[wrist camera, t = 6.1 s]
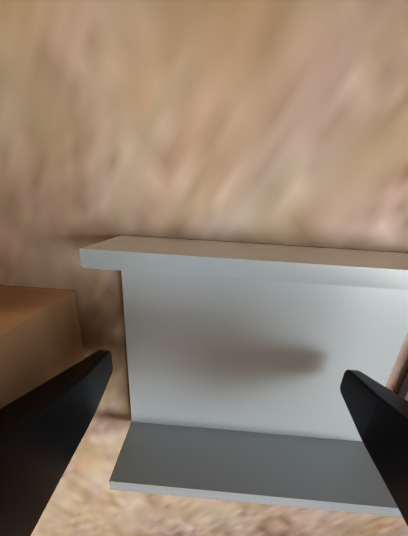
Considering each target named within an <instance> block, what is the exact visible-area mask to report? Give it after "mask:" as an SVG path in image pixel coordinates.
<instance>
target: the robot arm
mask: <svg viewBox="0 0 408 536" xmlns="http://www.w3.org/2000/svg"><path fill="white" fill-rule="evenodd" d="M112 369H113V366H112V356H111V352H110V351H108V350H99V351H97V352H95V353H93V354H92V355H90V356H88V357H87V358H85V359H83V360H82V361H80V362H78V363H77V364H75V365H73V366H71V367H70V368H68V369H66V370H65V371H63V372H61V373H60V374H58V375H56V376H55V377H53V378H51V379H50V380H48V381H46V382H45V383H43V384H41V385H40V386H38V387H36V388H34V389H33V390H31V391H29V392H28V393H26V394H24V395H23V396H21V397H19V398H18V399H16V400H14V401H13V402H11V403H9V404H8V405H6V406H4V407H2V408H1V409H0V536H30V535H31V534H32V532H33V530H34V528H35V526H36V524H37V522H38V520H39V519H40V517H41V515H42V513H43V511H44V509H45V507H46V505H47V503H48V502H49V500H50V498H51V496H52V494H53V492H54V490H55V488H56V487H57V485H58V483H59V481H60V479H61V477H62V475H63V473H64V471H65V470H66V468H67V466H68V464H69V462H70V460H71V458H72V456H73V454H74V453H75V451H76V449H77V447H78V445H79V443H80V441H81V439H82V438H83V436H84V434H85V432H86V430H87V428H88V426H89V424H90V422H91V420H92V418H93V416H94V414H95V412H96V410H97V407H98V405H99V402H100V400H101V398H102V395H103V393H104V391H105V388H106V386H107V383H108V381H109V379H110V376H111V374H112ZM340 391H341V394H342V397H343V399H344V401H345V404H346V406H347V408H348V410H349V413H350V415H351V417H352V419H353V422H354V424H355V426H356V428H357V431H358V433H359V435H360V437H361V439H362V441H363V443H364V445H365V447H366V449H367V451H368V453H369V455H370V457H371V458H372V460H373V462H374V464H375V466H376V468H377V470H378V471H379V473H380V475H381V477H382V479H383V481H384V483H385V485H386V486H387V488H388V490H389V492H390V494H391V496H392V498H393V499H394V501H395V503H396V505H397V507H398V509H399V511H400V512H401V514H402V516H403V518H404V520H405V522H406V524H407V525H408V401H407V400H405V399H404V398H402V397H401V396H399V395H397V394H396V393H394V392H393V391H391V390H389V389H388V388H386V387H385V386H383V385H381V384H380V383H378V382H377V381H375V380H373V379H372V378H370V377H369V376H367V375H365V374H364V373H362V372H361V371H358V370H350V369H348V370H346V371H345V372H344V375H343V378H342V381H341V384H340Z"/></svg>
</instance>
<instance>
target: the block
mask: <svg viewBox="0 0 408 536" xmlns="http://www.w3.org/2000/svg"><path fill="white" fill-rule="evenodd" d="M83 359H85V356H84V349H83V342H82V336H81V329H80V322H79V315H78V308H77V301H76V294H75V290H61V289H47V288H33V287H19V286H5V285H0V409H1V408H2V407H4V406H6V405H8V404H9V403H11V402H13V401H14V400H16V399H18V398H19V397H21V396H23V395H24V394H26V393H28V392H29V391H31V390H33V389H34V388H36V387H38V386H40V385H41V384H43V383H45V382H46V381H48V380H50V379H51V378H53V377H55V376H56V375H58V374H60V373H61V372H63V371H65V370H66V369H68V368H70V367H71V366H73V365H75V364H77V363H78V362H80V361H82V360H83Z"/></svg>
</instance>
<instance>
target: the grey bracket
mask: <svg viewBox="0 0 408 536" xmlns="http://www.w3.org/2000/svg"><path fill="white" fill-rule="evenodd" d="M79 255H80V262H81V268H89V269H104V270H119V271H121V275H122V289H123V304H124V318H125V333H126V347H127V361H128V376H129V390H130V404H131V419H132V422H131V425H130V428H129V430H128V433H127V435H126V438H125V441H124V443H123V446H122V449H121V451H120V454H119V457H118V459H117V462H116V465H115V467H114V470H113V473H112V475H111V478H110V480H109V483H110V489H111V490H121V491H132V492H143V493H153V494H164V495H174V496H185V497H195V498H206V499H216V500H227V501H237V502H248V503H258V504H269V505H280V506H290V507H301V508H311V509H322V510H332V511H343V512H353V513H364V514H374V515H385V516H396V517H400V516H401V515H402V514H401V512H400V511H399V509H398V507H397V505H396V503H395V501H394V499H393V498H392V496H391V494H390V492H389V490H388V488H387V486H386V485H385V483H384V481H383V479H382V477H381V475H380V473H379V471H378V470H377V468H376V466H375V464H374V462H373V460H372V458H371V457H370V455H369V453H368V451H367V449H366V447H365V445H364V444H363V442H362V439H361V437H360V435H359V433H358V431H357V428H356V426H355V424H354V422H353V419H352V417H351V415H350V413H349V410H348V408H347V406H346V404H345V401H344V399H343V397H342V394H341V391H340V384H341V381H342V378H343V375H344V372H345V371H346V370H348V369H350V370H358V371H361V372H362V373H364V374H365V375H367V376H369V377H370V378H372V379H373V380H375V381H377V382H378V383H380V384H381V385H383V386H386V383H387V381H388V378H389V376H390V374H391V371H392V369H393V366H394V364H395V362H396V359H397V357H398V354H399V352H400V350H401V347H402V345H403V342H404V340H405V338H406V335H407V333H408V253H400V252H384V251H368V250H352V249H337V248H321V247H305V246H289V245H273V244H257V243H242V242H226V241H210V240H194V239H178V238H163V237H147V236H131V235H121V236H118V237H114V238H111V239H108V240H105V241H102V242H98V243H95V244H92V245H89V246H86V247H82V248H79Z"/></svg>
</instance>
